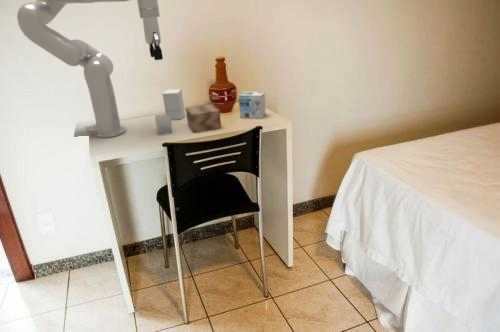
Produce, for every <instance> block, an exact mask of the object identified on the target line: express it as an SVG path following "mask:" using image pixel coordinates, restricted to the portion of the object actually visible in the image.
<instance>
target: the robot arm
mask: <svg viewBox="0 0 500 332" xmlns="http://www.w3.org/2000/svg"><path fill="white" fill-rule="evenodd" d="M129 1H131V0H36V1H31V2H25V3H24V4H22V5H21V6H20V7H19V8H18V11H17V13H16V14H17V16H16V17H17V24H18V27H19V29H20V30H21V32H22V33H23V35H24V36H25V37H26V38H27V39H28V40H29V41H30V42H32V43H34V44H35V45H36V46H37V47H40V48H41V49H42V50H45V51H46V52H48V53H49V54H50V55H52V56H53V57H55V58H57V59H58V60H60V61H62V62H63V63H65V64H66V65H68V66H70V67H77V66H81V67H82V68H83V75H84V80H85V82H86V85H87V89H88V93H89V96H90V101H91V105H92V111H93V114H94V119H95V124H94V125H92V126H91V125H89V126H85V130H86V132H89V133H92V132H94V136H95V137H96V138H102V139H104V138H113V137H117V136H120V135H123V134H124V133H125V132H126V128H125V126H122V125H121V121H120V120H121V119H120V115H119V111H118V105H117V101H116V95H115V90H114V86H113V83H112V79H111V75H112V74H113V72H114V71H113V70H114V64H113V62H112V60H111V59H110V58H109V57H108V56H107V55H105V54H104V53H102V51H100V50H98V49H97V48H94V47H93V46H91V45H90V44H88V43H87V42H85V41H83V40H80V39H69V38H68V37H66V36H64V35H63V34H61V33H59V32H58V31H56V30H55V29H53V28H51V27H49V26H48V24H50V23H52V21H53V20H54V19H55V18H56V17H57V15H58V14H59V13H60V12H61V11H62V10H63V8H64V7H65V6H66V5H67V4H94V3H101V2H102V3H110V2H111V3H112V2H113V3H115V2H119V3H120V2H123V3H124V2H129ZM136 1H137V6H138V8H137V9H138V12H139V18H140V19H142V24H143V25H142V27H143V32H144V39H145V44H147V45H149V47H148V48H149V53H150V54H149V55H150V57H151V58H154V59H153V60H155V61H160V60H161V61H162V60H163V52H162V47H161V42H162V39H161V32H160V27H159V21H158V18H159V17H160V9H159V4H158V0H136Z"/></svg>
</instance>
